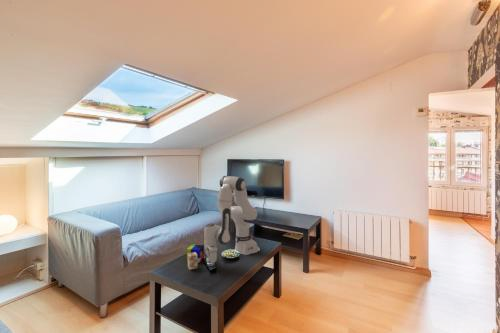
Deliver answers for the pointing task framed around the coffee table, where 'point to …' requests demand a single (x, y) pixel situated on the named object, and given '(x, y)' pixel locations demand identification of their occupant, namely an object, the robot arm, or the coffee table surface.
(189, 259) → the tower mid
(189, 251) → the puzzle toy
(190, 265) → the tower base
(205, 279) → the coffee table surface
